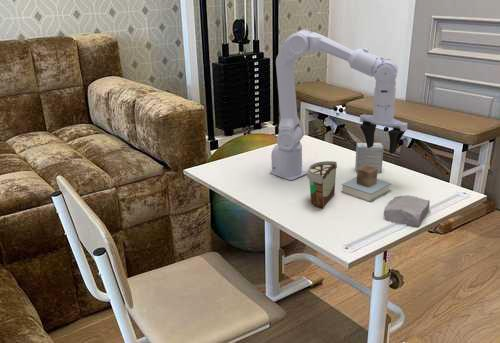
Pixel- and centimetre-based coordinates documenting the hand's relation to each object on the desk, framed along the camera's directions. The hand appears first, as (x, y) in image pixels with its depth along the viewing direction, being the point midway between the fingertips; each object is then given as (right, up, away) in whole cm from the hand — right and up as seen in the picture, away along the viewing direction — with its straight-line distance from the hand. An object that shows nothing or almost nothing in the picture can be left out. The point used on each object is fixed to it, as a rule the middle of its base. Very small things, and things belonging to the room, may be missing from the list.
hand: (381, 149), depth 145 cm
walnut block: (-5, -10, -3) cm, 11 cm away
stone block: (+2, -18, -15) cm, 24 cm away
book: (-5, -12, -2) cm, 13 cm away
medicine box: (-1, -6, +13) cm, 15 cm away
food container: (-19, -15, -6) cm, 25 cm away
